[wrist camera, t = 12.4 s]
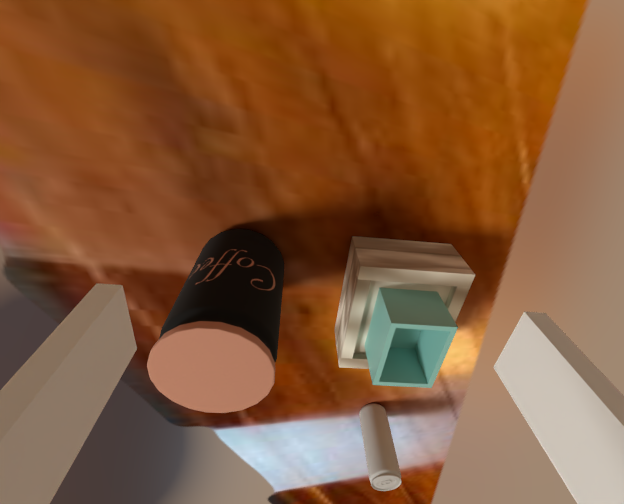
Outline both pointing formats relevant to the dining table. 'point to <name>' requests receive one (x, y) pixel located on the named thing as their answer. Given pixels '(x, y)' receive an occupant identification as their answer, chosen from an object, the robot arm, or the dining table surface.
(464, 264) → the beige crate
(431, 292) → the teal crate
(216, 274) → the coffee jar
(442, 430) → the dining table surface
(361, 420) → the beverage can
